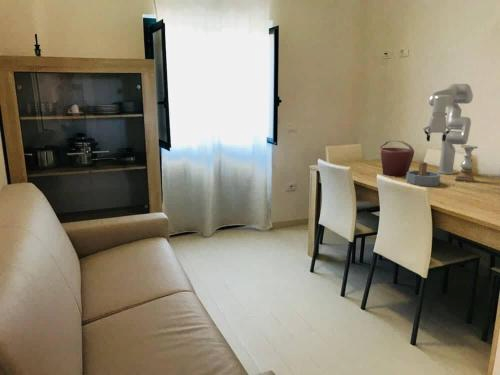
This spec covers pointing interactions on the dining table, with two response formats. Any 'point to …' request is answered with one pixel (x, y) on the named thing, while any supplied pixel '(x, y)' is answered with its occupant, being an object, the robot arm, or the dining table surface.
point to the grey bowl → (423, 178)
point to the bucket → (396, 160)
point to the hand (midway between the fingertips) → (435, 141)
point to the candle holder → (466, 165)
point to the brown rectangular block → (422, 169)
